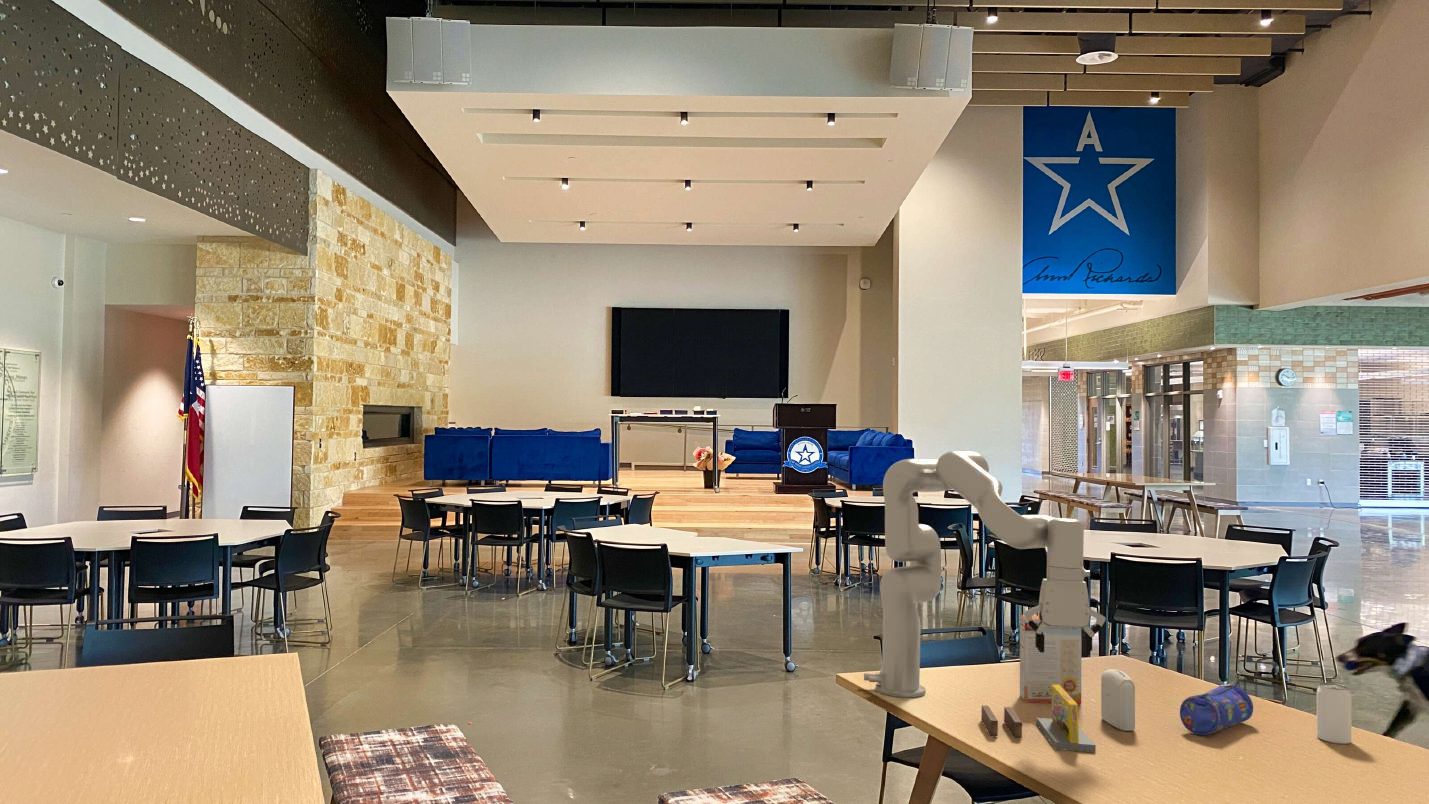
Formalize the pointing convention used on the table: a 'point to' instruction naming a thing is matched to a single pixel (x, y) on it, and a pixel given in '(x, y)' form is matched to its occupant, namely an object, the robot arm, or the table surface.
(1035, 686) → the cracker box
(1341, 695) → the can
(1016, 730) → the walnut rack
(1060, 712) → the candy box
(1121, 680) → the photo printer
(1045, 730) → the grey plinth
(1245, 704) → the pencil case
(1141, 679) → the table surface
